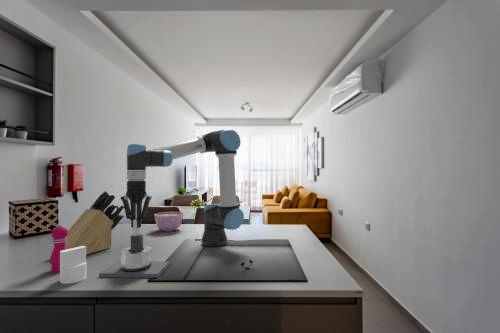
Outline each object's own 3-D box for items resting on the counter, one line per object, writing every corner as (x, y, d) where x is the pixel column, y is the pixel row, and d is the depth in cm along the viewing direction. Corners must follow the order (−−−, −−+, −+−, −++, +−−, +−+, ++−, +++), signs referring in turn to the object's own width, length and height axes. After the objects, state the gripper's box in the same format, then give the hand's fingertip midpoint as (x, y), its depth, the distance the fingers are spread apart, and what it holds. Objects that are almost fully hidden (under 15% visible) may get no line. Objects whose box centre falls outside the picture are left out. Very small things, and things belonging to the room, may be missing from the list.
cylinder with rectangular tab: (67, 285, 107) (67, 253, 107) (55, 280, 112) (55, 250, 112) (91, 277, 115) (91, 247, 115) (79, 273, 119) (79, 244, 119)
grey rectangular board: (169, 264, 129) (169, 261, 129) (157, 277, 114) (157, 274, 114) (118, 264, 130) (118, 261, 130) (99, 276, 115) (99, 273, 115)
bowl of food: (148, 233, 192) (148, 215, 192) (162, 226, 212) (162, 211, 212) (176, 234, 189) (176, 216, 189) (187, 227, 209) (187, 211, 209)
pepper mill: (56, 266, 127) (55, 222, 127) (73, 266, 128) (72, 221, 128) (45, 272, 120) (45, 225, 120) (63, 272, 120) (63, 225, 121)
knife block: (126, 244, 165) (126, 190, 165) (64, 262, 133) (64, 196, 133) (112, 241, 170) (112, 190, 170) (49, 259, 138) (49, 195, 138)
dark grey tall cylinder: (145, 261, 125) (145, 234, 125) (140, 265, 120) (139, 237, 120) (134, 261, 125) (133, 234, 125) (128, 265, 120) (128, 237, 120)
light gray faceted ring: (155, 262, 128) (155, 245, 128) (144, 272, 116) (144, 254, 116) (129, 262, 128) (129, 245, 128) (115, 272, 116) (115, 253, 116)
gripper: (117, 180, 119) (116, 237, 119) (147, 180, 118) (147, 237, 118) (125, 179, 126) (125, 233, 126) (154, 179, 126) (154, 233, 126)
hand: (136, 235), depth 122 cm, fingers closed
